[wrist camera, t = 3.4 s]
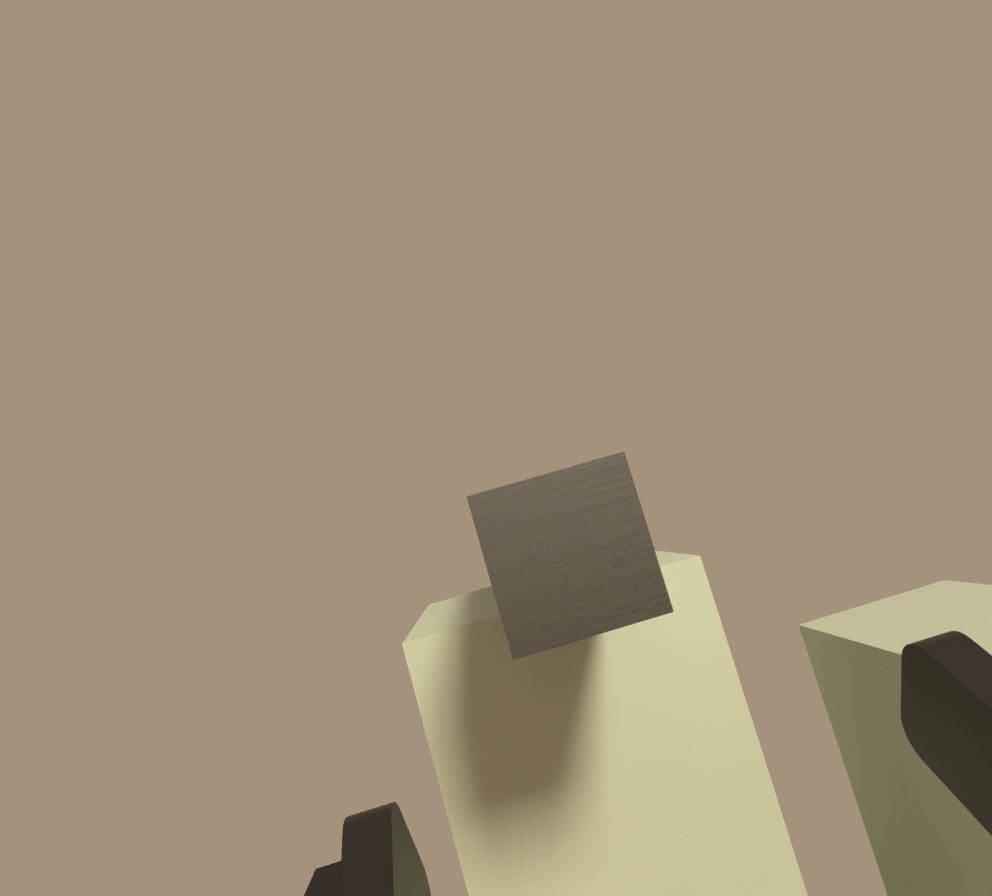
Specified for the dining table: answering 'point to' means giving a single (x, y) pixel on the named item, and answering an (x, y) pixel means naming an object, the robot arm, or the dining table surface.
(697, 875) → the stand
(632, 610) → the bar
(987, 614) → the block
